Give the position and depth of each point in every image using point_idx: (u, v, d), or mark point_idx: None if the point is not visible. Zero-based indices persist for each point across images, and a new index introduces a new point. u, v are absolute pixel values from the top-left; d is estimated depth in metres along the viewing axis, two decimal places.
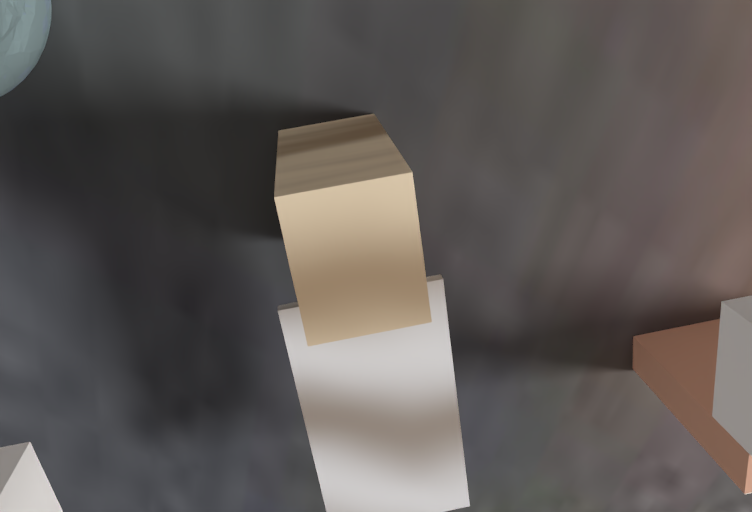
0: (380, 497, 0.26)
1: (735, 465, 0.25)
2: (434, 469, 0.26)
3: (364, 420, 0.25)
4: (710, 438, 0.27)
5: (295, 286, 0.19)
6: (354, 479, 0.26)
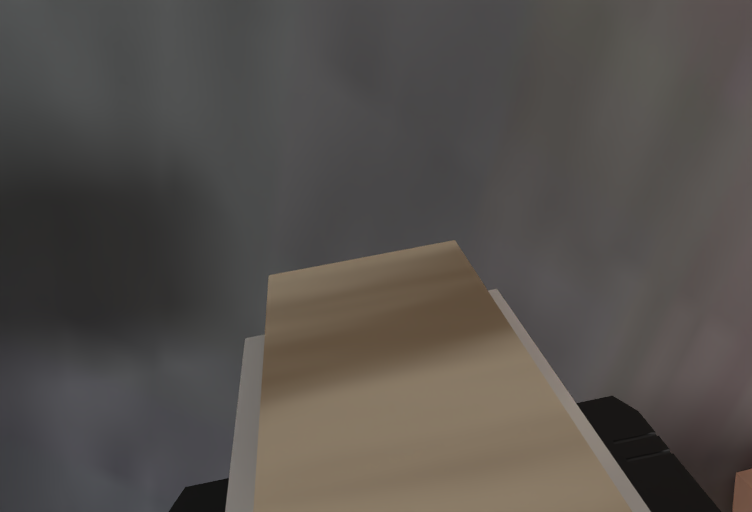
0: None
1: None
2: None
3: None
4: None
5: None
6: None
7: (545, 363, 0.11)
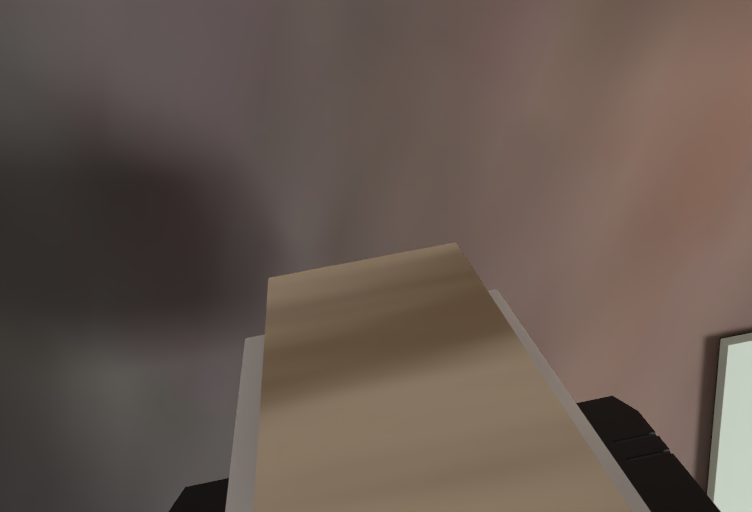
0: None
1: None
2: None
3: None
4: None
5: None
6: None
7: (545, 363, 0.11)
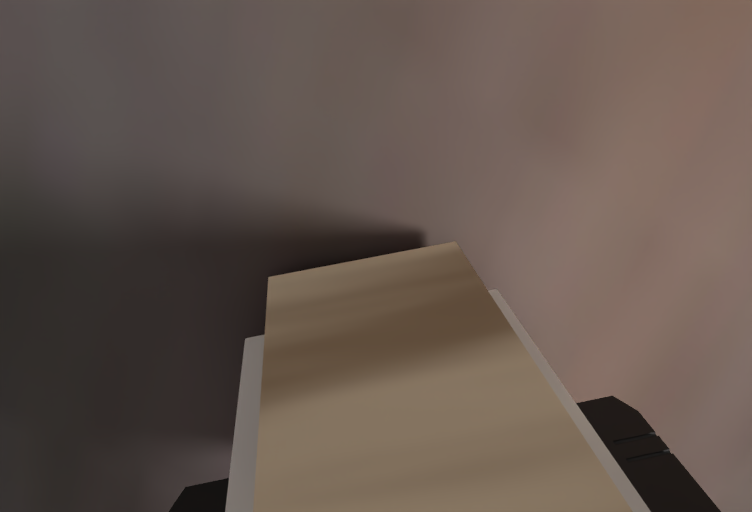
0: None
1: None
2: None
3: None
4: None
5: None
6: None
7: (545, 363, 0.11)
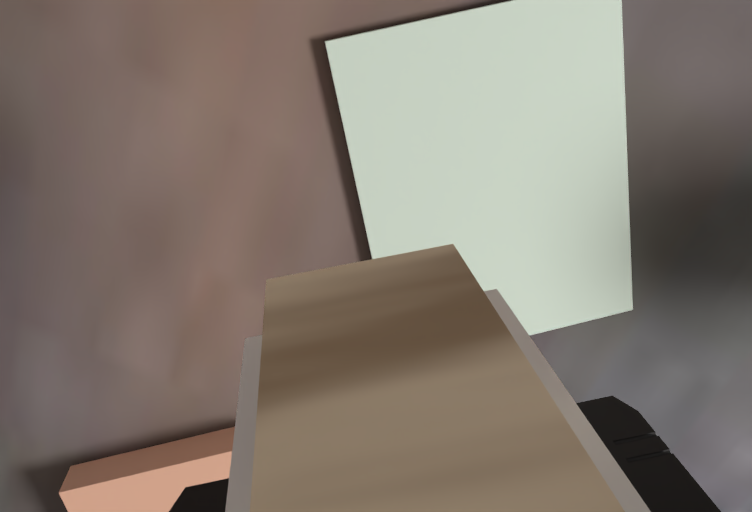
0: None
1: None
2: None
3: None
4: None
5: None
6: None
7: (545, 363, 0.11)
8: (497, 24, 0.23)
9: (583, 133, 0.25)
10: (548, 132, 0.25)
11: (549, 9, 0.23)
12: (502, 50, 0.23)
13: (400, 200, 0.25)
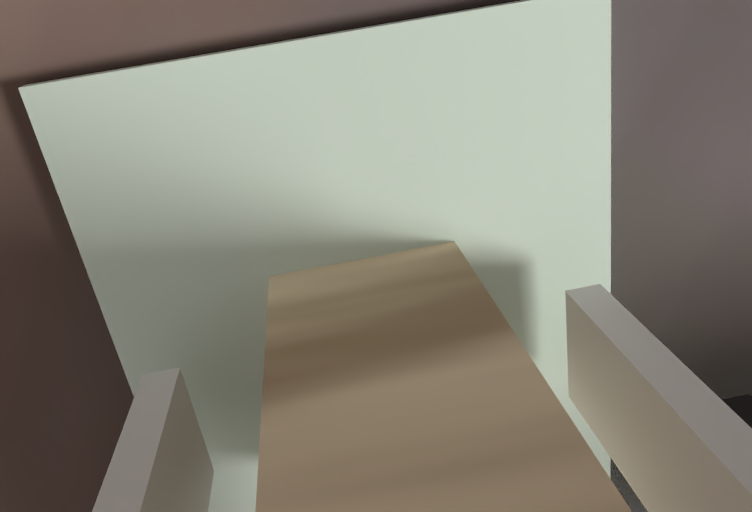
0: None
1: None
2: None
3: None
4: None
5: None
6: None
7: (677, 360, 0.11)
8: (369, 67, 0.12)
9: (533, 263, 0.14)
10: (470, 261, 0.14)
11: (471, 42, 0.12)
12: (380, 116, 0.12)
13: (200, 370, 0.14)
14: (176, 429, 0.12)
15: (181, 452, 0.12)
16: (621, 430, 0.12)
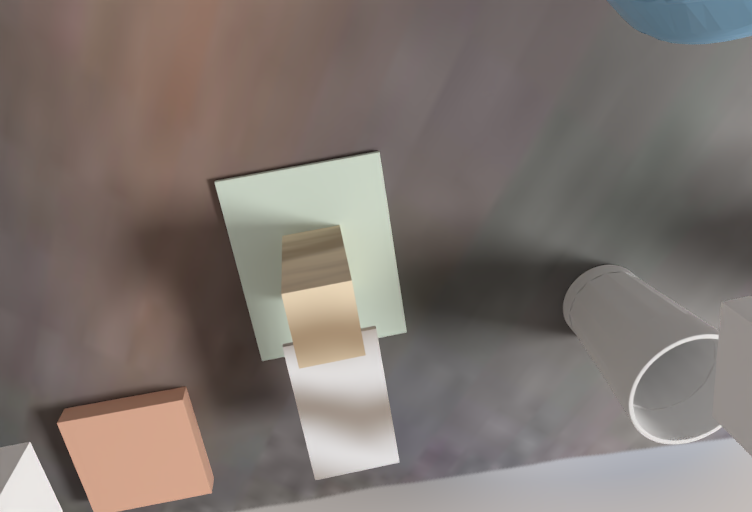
0: (344, 456, 0.44)
1: None
2: (376, 439, 0.44)
3: (333, 409, 0.42)
4: None
5: (292, 337, 0.36)
6: (328, 445, 0.43)
7: None
8: (311, 175, 0.42)
9: (365, 232, 0.44)
10: (345, 231, 0.44)
11: (340, 168, 0.42)
12: (314, 188, 0.43)
13: (260, 266, 0.44)
14: None
15: None
16: None
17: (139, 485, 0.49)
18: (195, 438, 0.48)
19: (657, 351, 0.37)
